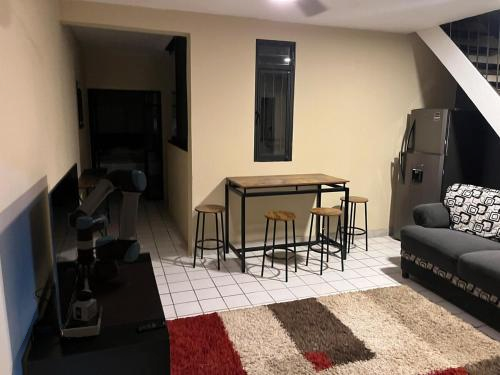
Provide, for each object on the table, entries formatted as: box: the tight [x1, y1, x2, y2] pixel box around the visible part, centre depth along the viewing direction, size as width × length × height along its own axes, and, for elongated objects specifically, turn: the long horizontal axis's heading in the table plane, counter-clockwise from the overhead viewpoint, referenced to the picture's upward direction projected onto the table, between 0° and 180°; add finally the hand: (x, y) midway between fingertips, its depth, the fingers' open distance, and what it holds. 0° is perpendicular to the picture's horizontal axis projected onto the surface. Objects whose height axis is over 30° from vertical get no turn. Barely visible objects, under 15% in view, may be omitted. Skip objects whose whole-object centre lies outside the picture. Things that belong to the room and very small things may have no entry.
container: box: [72, 289, 98, 322], centre depth 189 cm, size 8×8×13 cm
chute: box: [62, 305, 103, 338], centre depth 184 cm, size 24×15×4 cm, turn 16°
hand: (87, 291), depth 200 cm, fingers closed
